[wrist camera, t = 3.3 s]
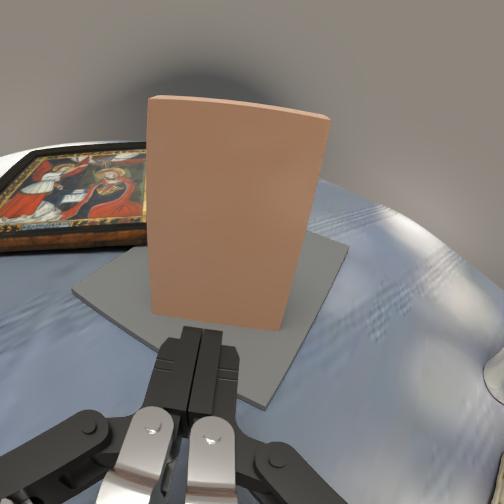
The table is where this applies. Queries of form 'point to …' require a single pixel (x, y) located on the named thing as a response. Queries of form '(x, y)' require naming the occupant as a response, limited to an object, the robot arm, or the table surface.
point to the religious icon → (75, 198)
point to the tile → (228, 206)
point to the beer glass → (495, 375)
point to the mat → (244, 339)
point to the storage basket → (499, 485)
